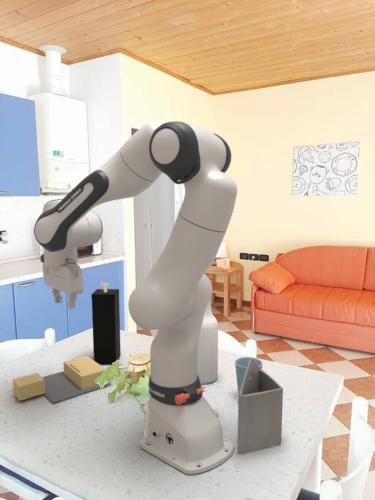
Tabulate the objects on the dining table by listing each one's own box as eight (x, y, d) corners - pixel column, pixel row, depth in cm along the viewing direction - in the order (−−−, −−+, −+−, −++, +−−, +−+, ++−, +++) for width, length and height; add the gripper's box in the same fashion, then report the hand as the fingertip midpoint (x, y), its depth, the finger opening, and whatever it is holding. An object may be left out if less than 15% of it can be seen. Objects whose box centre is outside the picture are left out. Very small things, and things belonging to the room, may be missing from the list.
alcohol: (208, 387, 119) (209, 289, 115) (184, 380, 124) (184, 286, 120) (222, 376, 126) (223, 284, 123) (199, 370, 131) (199, 281, 127)
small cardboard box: (45, 393, 114) (44, 379, 113) (19, 400, 110) (19, 387, 109) (38, 385, 119) (37, 372, 118) (13, 392, 114) (12, 379, 114)
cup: (267, 400, 111) (268, 364, 110) (244, 406, 108) (244, 369, 107) (252, 388, 118) (252, 355, 117) (230, 394, 115) (230, 359, 114)
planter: (272, 464, 84) (274, 377, 82) (236, 453, 88) (238, 370, 86) (288, 425, 99) (291, 351, 96) (257, 417, 102) (259, 345, 100)
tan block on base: (111, 385, 120) (111, 371, 120) (52, 404, 109) (51, 388, 109) (86, 366, 134) (85, 353, 134) (31, 381, 123) (31, 367, 123)
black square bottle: (116, 365, 135) (114, 284, 132) (93, 364, 136) (90, 284, 132) (120, 356, 143) (118, 279, 140) (99, 356, 143) (96, 279, 140)
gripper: (87, 258, 106) (91, 309, 107) (58, 253, 122) (61, 298, 123) (65, 261, 102) (68, 314, 103) (37, 256, 118) (41, 301, 119)
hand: (64, 305), depth 113 cm, fingers open, 8 cm apart
